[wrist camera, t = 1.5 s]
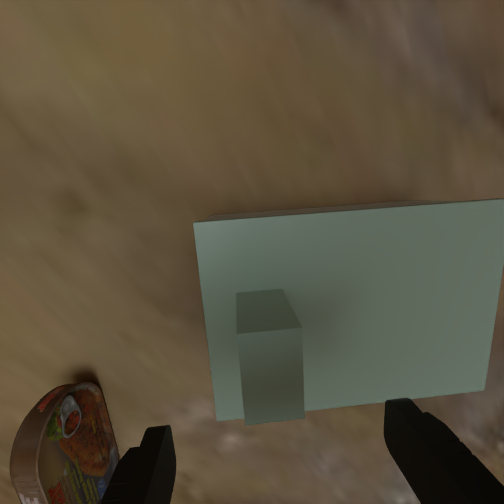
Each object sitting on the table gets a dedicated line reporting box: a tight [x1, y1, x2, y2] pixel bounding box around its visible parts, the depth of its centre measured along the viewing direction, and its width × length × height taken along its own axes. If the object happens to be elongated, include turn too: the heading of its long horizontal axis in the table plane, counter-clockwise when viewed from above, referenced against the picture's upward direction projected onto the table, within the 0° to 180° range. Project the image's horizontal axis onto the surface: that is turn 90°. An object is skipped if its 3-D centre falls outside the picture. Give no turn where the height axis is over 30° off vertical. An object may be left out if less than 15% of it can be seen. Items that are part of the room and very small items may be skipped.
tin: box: [10, 382, 118, 504], centre depth 24 cm, size 15×3×8 cm, turn 5°
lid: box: [193, 198, 504, 425], centre depth 16 cm, size 20×14×8 cm
